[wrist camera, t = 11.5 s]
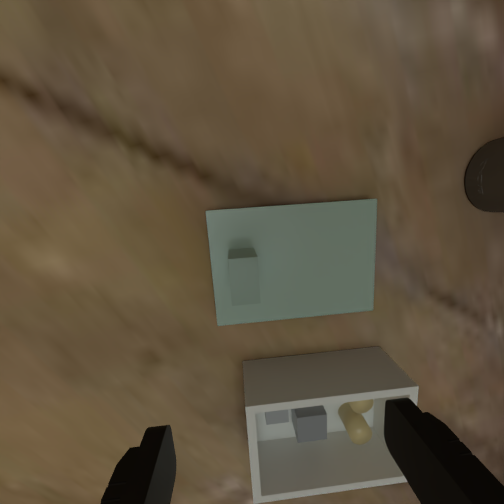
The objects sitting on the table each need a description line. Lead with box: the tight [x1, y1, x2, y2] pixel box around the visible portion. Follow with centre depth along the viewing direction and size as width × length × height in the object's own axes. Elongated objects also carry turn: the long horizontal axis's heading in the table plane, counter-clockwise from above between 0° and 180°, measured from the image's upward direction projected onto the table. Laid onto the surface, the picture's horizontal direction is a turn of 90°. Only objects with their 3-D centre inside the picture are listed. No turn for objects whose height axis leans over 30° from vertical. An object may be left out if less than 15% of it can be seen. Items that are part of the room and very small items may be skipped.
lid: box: [206, 199, 377, 326], centre depth 30 cm, size 20×14×8 cm
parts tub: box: [242, 346, 419, 504], centre depth 34 cm, size 20×14×8 cm
